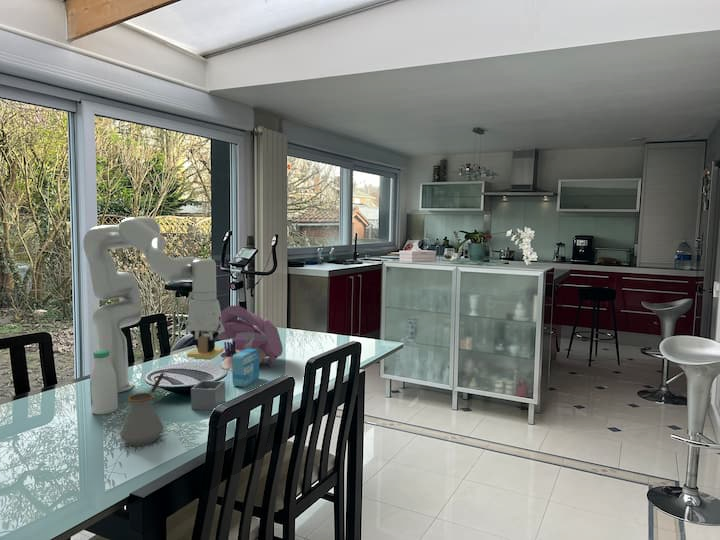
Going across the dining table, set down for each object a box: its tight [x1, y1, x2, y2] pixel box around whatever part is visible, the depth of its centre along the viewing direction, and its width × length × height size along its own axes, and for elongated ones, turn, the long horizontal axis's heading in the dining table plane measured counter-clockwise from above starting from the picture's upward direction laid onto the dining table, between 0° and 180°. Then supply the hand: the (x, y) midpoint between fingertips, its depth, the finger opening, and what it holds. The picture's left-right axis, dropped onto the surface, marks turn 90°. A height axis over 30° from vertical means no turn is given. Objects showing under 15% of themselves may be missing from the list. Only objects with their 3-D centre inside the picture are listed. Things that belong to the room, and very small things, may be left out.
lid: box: [187, 333, 225, 361], centre depth 171 cm, size 9×9×7 cm
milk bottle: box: [89, 350, 119, 415], centre depth 167 cm, size 8×8×20 cm
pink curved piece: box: [206, 305, 284, 371], centre depth 217 cm, size 35×24×28 cm
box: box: [190, 380, 226, 411], centre depth 173 cm, size 8×8×7 cm
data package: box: [231, 348, 260, 388], centre depth 195 cm, size 12×4×12 cm, turn 161°
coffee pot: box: [119, 372, 168, 447], centre depth 151 cm, size 21×12×15 cm, turn 177°
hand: (205, 349), depth 171 cm, fingers closed on lid, 3 cm apart
